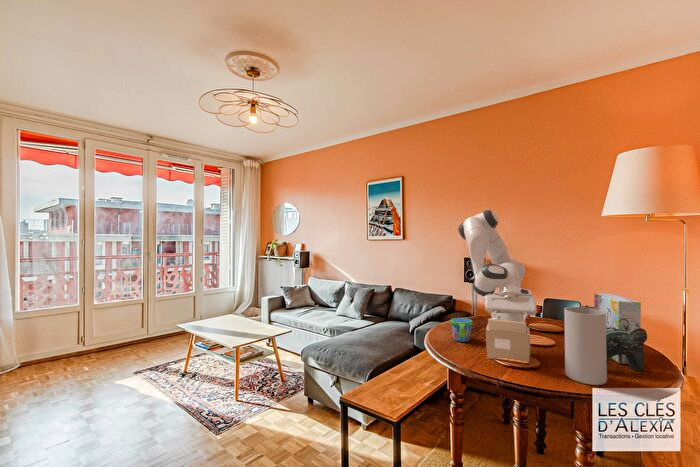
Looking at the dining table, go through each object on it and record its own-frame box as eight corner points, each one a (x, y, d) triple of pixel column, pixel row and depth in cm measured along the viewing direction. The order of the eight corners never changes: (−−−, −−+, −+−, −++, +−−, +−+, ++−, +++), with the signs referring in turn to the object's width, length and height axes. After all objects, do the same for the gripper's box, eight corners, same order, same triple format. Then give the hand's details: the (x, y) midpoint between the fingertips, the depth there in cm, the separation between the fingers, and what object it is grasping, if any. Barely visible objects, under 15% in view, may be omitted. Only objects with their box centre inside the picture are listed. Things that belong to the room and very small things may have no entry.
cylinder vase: (593, 388, 114) (591, 316, 114) (557, 375, 125) (556, 308, 125) (614, 382, 119) (613, 312, 119) (578, 369, 130) (577, 305, 130)
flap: (487, 318, 137) (487, 319, 137) (526, 322, 131) (526, 323, 130) (489, 328, 143) (489, 329, 143) (526, 332, 137) (526, 333, 136)
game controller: (638, 366, 132) (637, 316, 132) (653, 373, 126) (652, 320, 126) (589, 367, 132) (588, 317, 132) (601, 374, 125) (600, 321, 125)
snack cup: (452, 334, 177) (452, 315, 177) (473, 336, 173) (473, 317, 173) (449, 343, 163) (449, 323, 163) (472, 346, 159) (471, 325, 159)
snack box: (643, 366, 132) (642, 302, 133) (618, 364, 135) (617, 301, 135) (614, 348, 153) (613, 292, 154) (593, 347, 156) (592, 292, 156)
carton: (488, 347, 157) (488, 322, 157) (529, 352, 149) (528, 326, 149) (486, 358, 143) (485, 330, 143) (530, 364, 135) (530, 335, 136)
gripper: (484, 289, 152) (483, 315, 143) (535, 291, 143) (537, 319, 134) (485, 297, 156) (484, 323, 147) (535, 299, 147) (537, 327, 138)
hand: (510, 321), depth 140 cm, fingers open, 8 cm apart
